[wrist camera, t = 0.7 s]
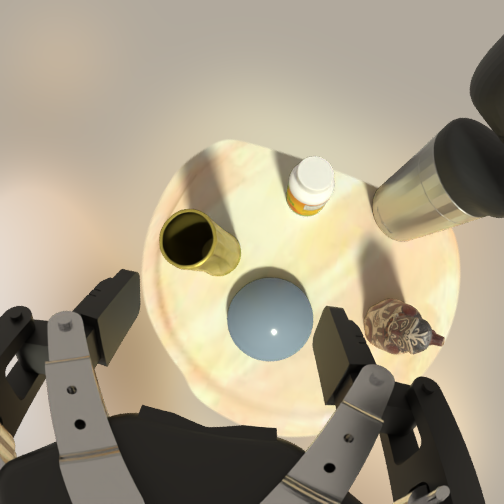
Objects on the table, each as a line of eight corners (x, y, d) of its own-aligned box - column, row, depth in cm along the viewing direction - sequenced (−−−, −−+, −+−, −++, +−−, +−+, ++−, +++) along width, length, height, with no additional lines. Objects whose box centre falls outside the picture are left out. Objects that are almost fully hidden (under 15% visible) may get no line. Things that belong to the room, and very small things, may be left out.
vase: (188, 261, 37) (142, 252, 23) (211, 223, 37) (176, 191, 23) (226, 284, 36) (198, 288, 22) (249, 244, 37) (235, 223, 23)
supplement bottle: (282, 182, 37) (285, 152, 28) (320, 178, 37) (334, 147, 27) (289, 220, 37) (295, 199, 27) (327, 214, 36) (345, 193, 27)
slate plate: (287, 262, 36) (288, 262, 35) (325, 334, 35) (327, 336, 33) (214, 301, 36) (212, 302, 35) (253, 370, 35) (252, 374, 34)
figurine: (375, 291, 35) (417, 295, 23) (413, 307, 34) (461, 316, 22) (355, 338, 34) (389, 363, 23) (395, 353, 34) (437, 377, 22)
